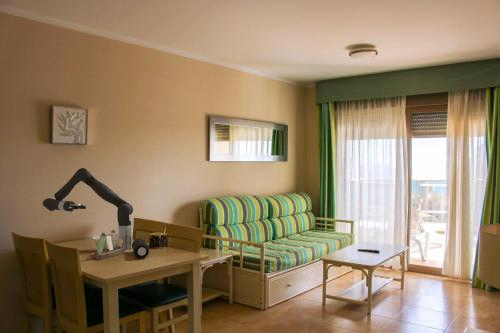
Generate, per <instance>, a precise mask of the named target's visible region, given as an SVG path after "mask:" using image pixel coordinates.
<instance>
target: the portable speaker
mask: <svg viewBox="0 0 500 333" xmlns="http://www.w3.org/2000/svg"><path fill="white" fill-rule="evenodd" d="M131 249H132V250H133V253H134V256H135V257H136V258H138V259H140V258H141V259H145V258H147V257H148V255H149V254H150V247H149V245H148V244H147V242H146V240H144V239H143V238H139V237H138V238H136V239H134V240H133V242H131Z"/></svg>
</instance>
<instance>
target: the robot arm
mask: <svg viewBox="0 0 500 333" xmlns="http://www.w3.org/2000/svg"><path fill="white" fill-rule="evenodd" d="M80 182H82V183H84V184H85V185H87V186H89V188H90V189H91V190H93V192H94V193H95V194H97V196H98V197H100V199H102V200H103V201H104V202H107V203H108V204H109V203H110V204H111V205H114V206H115V207H116V208H117V212H116V213H117V214H116V216H117V217H116V218H117V224H118V225H117V226H118V229H117V230H118V231H117V233H118V235H117V237H118V238H117V240H118V239H122V240H123V243H122V246H121V247H120V249H124V250H129V249H132V237H133V236H132V221H131V220H130V218H131V217H130V215H132V214H133V212H134V207H133V205H131V204H130V203H129V202H127V201H126V200H124V199H123V198H121V197H120V196H119V195H118V194H117V193H116V192H115V191H113V190H112V189H111V188H110V187H108V186H107V185H106V184H105V183H103V182H101V181H99V180H98V179H97V178H96V177H94V175H92V173H91V172H90V171H89V170H88V169H87V168H86V167H80V168H78V169H77V170H76V172H75V173H74V174H73V175H72V176H71V177H70V178H69V180H68V181H67V182H66V183H65V184H64V185H63V186H62V187H61V188H59V190H57V191H56V192H55V193H54V194H53V197H54V198H51V197H48V198H45V199H44V200H43V201H42V206H43V207H45V209H47V210H48V211H49V212H54V211H62V212H70V213H72V212H74V211H75V210H76V211H77V210H86V209H87V205H84V204H83V203H82V204H79V203H75V202H74V201H73V200H65V198H67V197H68V196H69V195H70V193H71V192H72V191H73V189H74V188H75V187H76V185H78V184H79V183H80Z"/></svg>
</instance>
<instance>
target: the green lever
mask: <svg viewBox="0 0 500 333" xmlns="http://www.w3.org/2000/svg"><path fill="white" fill-rule="evenodd" d="M99 236H100V237H99V240H98V244H97V249H96V252H98V254H101V253H102V251H104V246H105V243H106V239H105V238H106V236H107V234H106V232H102V233H101V234H100V235H99Z"/></svg>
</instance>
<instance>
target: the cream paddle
mask: <svg viewBox="0 0 500 333" xmlns="http://www.w3.org/2000/svg"><path fill="white" fill-rule="evenodd" d="M105 243H106V249H109V251H110V250H113V247H114V245H113V239H112V234H111V235H106V238H105Z"/></svg>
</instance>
